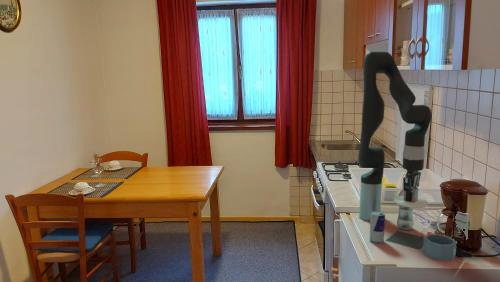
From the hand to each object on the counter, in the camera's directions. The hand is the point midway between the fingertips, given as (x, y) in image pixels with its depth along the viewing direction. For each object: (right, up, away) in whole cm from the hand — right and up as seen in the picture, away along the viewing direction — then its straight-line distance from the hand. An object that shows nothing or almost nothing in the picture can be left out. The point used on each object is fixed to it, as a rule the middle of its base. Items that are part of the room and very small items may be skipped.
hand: (410, 199), depth 150 cm
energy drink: (-13, -17, +1) cm, 22 cm away
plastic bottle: (+3, -15, +14) cm, 21 cm away
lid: (0, -1, 0) cm, 1 cm away
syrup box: (+19, -18, -3) cm, 26 cm away
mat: (0, -17, +3) cm, 17 cm away
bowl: (+6, -19, -10) cm, 22 cm away
